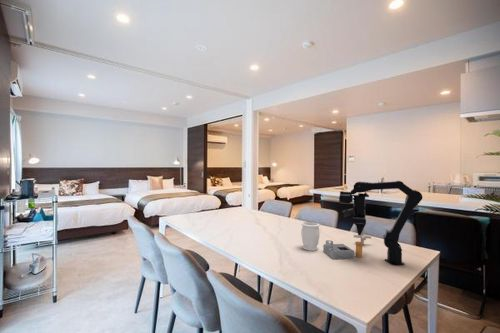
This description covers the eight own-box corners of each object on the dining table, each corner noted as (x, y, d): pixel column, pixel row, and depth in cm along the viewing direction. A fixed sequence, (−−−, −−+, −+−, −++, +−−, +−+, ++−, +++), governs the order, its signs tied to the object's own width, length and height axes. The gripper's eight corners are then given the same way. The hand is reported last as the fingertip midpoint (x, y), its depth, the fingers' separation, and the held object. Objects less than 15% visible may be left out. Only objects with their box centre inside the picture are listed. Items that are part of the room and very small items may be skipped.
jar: (306, 252, 137) (306, 226, 137) (298, 246, 147) (298, 222, 147) (322, 250, 139) (323, 225, 140) (313, 245, 149) (313, 221, 150)
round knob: (364, 258, 129) (364, 243, 129) (357, 258, 128) (357, 243, 128) (360, 255, 133) (360, 241, 133) (353, 255, 132) (353, 241, 132)
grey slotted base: (354, 258, 128) (354, 246, 128) (332, 259, 127) (332, 246, 127) (343, 250, 140) (343, 239, 140) (323, 251, 139) (323, 240, 139)
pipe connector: (373, 247, 146) (373, 231, 146) (355, 246, 148) (355, 230, 148) (368, 242, 156) (368, 227, 156) (352, 241, 158) (352, 226, 158)
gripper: (344, 201, 143) (344, 227, 143) (342, 206, 126) (342, 235, 126) (365, 202, 138) (365, 229, 138) (366, 207, 121) (365, 238, 121)
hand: (359, 233), depth 131 cm, fingers open, 9 cm apart
